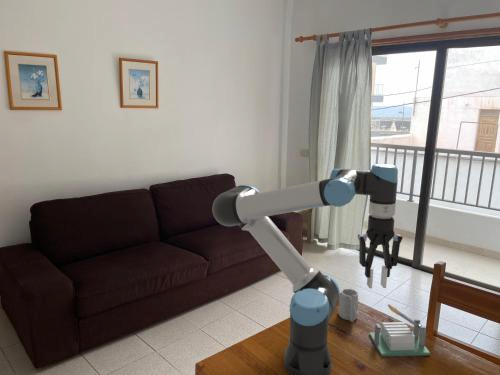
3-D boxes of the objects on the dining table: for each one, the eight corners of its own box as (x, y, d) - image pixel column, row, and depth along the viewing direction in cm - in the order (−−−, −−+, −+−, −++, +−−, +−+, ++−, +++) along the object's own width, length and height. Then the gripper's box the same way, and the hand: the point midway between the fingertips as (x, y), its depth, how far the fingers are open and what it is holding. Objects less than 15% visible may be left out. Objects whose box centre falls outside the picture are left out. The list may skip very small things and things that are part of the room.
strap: (390, 311, 127) (393, 307, 127) (386, 306, 131) (389, 303, 130) (422, 332, 130) (425, 329, 129) (418, 327, 133) (420, 323, 132)
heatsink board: (381, 356, 126) (383, 334, 124) (369, 334, 138) (370, 314, 136) (429, 355, 126) (431, 333, 125) (413, 333, 138) (415, 313, 136)
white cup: (355, 310, 154) (357, 282, 151) (363, 327, 142) (365, 297, 140) (336, 310, 154) (337, 282, 152) (342, 327, 143) (344, 297, 140)
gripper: (357, 219, 113) (353, 292, 118) (414, 218, 113) (407, 291, 118) (350, 212, 120) (346, 281, 125) (403, 211, 120) (397, 280, 125)
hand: (376, 286), depth 122 cm, fingers open, 4 cm apart
